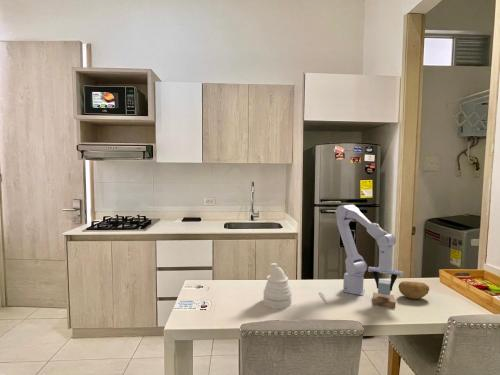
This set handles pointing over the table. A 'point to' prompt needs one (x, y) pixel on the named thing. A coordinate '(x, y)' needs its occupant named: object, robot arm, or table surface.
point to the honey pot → (277, 290)
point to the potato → (413, 289)
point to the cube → (384, 287)
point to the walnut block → (384, 300)
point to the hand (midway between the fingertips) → (384, 289)
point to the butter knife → (323, 297)
